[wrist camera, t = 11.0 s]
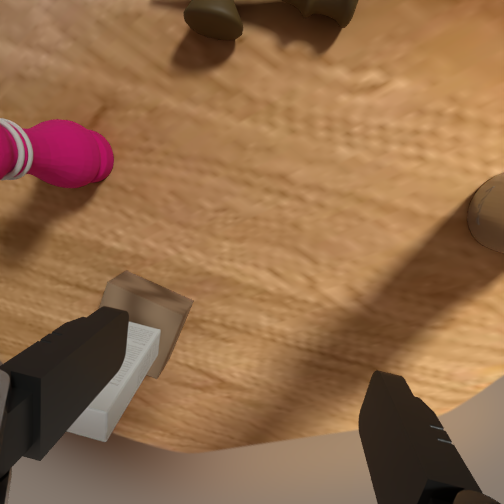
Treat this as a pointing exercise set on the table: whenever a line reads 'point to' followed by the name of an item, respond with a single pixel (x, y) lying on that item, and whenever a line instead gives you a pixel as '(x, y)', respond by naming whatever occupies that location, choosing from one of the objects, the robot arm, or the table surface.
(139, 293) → the walnut block
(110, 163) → the pepper mill
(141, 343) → the skincare box
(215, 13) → the kendama
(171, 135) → the table surface
